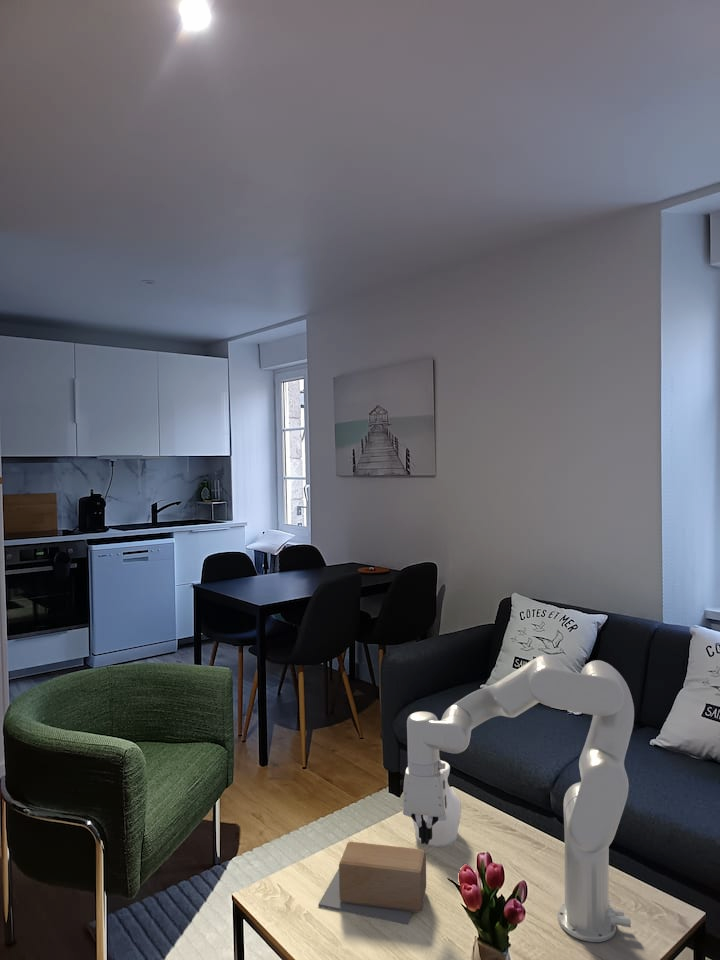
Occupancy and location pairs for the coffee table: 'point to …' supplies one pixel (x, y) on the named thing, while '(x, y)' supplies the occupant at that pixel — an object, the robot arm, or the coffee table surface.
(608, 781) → the robot arm
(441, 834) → the vase
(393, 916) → the mat
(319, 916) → the coffee table surface
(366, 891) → the block
